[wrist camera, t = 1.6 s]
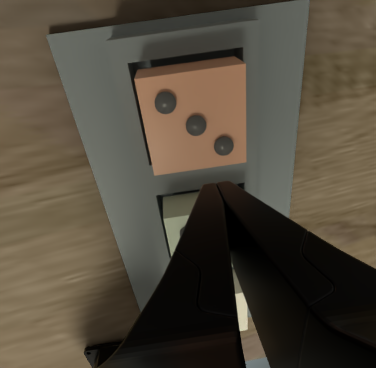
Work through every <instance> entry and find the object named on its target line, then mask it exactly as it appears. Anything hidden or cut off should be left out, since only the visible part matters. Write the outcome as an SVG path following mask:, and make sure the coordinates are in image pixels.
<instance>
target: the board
mask: <svg viewBox="0 0 376 368" xmlns="http://www.w3.org/2000/svg"><path fill="white" fill-rule="evenodd" d="M309 3H310V0H294V1H287V2H279V3H272V4H265V5H258V6H250V7H243V8H236V9H229V10H221V11H214V12H207V13H200V14H192V15H185V16H178V17H171V18H163V19H156V20H149V21H142V22H134V23H127V24H120V25H113V26H105V27H98V28H91V29H84V30H76V31H69V32H62V33H55V34H48V35H46V37H47V40H48V43H49V46H50V49H51V52H52V55H53V58H54V60H55V63H56V66H57V69H58V72H59V75H60V78H61V81H62V84H63V87H64V90H65V93H66V96H67V99H68V101H69V104H70V107H71V110H72V113H73V116H74V119H75V122H76V125H77V128H78V131H79V134H80V137H81V139H82V142H83V145H84V148H85V151H86V154H87V157H88V160H89V163H90V166H91V169H92V172H93V175H94V177H95V180H96V183H97V186H98V189H99V192H100V195H101V198H102V201H103V204H104V207H105V210H106V213H107V215H108V218H109V221H110V224H111V227H112V230H113V233H114V236H115V239H116V242H117V245H118V248H119V251H120V253H121V256H122V259H123V262H124V265H125V268H126V271H127V274H128V277H129V280H130V283H131V286H132V289H133V291H134V294H135V297H136V300H137V303H138V306H139V309H140V312H142V310H143V308H144V307H145V305H146V303H147V302H148V300H149V299H150V297H151V295H152V294H153V292H154V290H155V289H156V287H157V285H158V283H159V282H160V280H161V278H162V276H163V274H164V272H165V270H166V268H167V266H168V264H169V262H170V259H171V253H170V248H169V243H168V238H167V234H166V229H165V224H164V219H163V197H166V196H173V195H180V194H187V193H193V192H200V189H201V187H202V185H203V184H208V183H216V184H217V182H222V181H231V182H232V183H234V184H236V185H237V186H239V187H240V188H242V189H243V190H245V191H247V192H248V193H250V194H251V195H253V196H254V197H256V198H258V199H259V200H261V201H262V202H264V203H266V204H267V205H269V206H270V207H272V208H273V209H275V210H277V211H278V212H280V213H281V214H283V215H284V216H286V217H288V218H289V212H290V201H291V191H292V180H293V170H294V160H295V149H296V139H297V128H298V118H299V108H300V97H301V87H302V76H303V66H304V56H305V45H306V35H307V24H308V14H309ZM230 56H235V57H236V58H238V59H240V60H241V61H243V62H244V63H246V162H245V163H239V164H232V165H225V166H218V167H211V168H204V169H197V170H190V171H184V172H177V173H170V174H163V175H156V176H154V171H153V167H152V162H151V157H150V152H149V148H148V143H147V138H146V133H145V128H144V124H143V119H142V114H141V109H140V104H139V100H138V95H137V90H136V85H135V80H134V78H135V75H136V72H137V70H138V69H145V68H152V67H159V66H166V65H173V64H181V63H188V62H195V61H202V60H209V59H216V58H223V57H230ZM232 269H234V268H233V267H232ZM247 317H252V316H251V314H250V311H249V308H248V306H247Z"/></svg>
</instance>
